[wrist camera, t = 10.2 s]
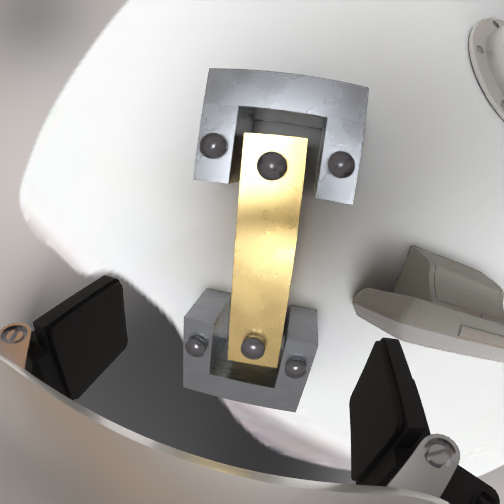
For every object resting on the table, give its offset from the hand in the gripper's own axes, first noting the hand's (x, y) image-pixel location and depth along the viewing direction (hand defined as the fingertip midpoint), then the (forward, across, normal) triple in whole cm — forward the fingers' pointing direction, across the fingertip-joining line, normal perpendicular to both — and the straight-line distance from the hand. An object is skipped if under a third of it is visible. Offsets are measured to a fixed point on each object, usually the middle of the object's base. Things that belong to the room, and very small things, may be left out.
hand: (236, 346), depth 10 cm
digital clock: (+16, -15, +3) cm, 22 cm away
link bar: (+15, +1, +1) cm, 15 cm away
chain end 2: (+15, +1, +10) cm, 18 cm away
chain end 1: (+15, +1, -8) cm, 17 cm away
